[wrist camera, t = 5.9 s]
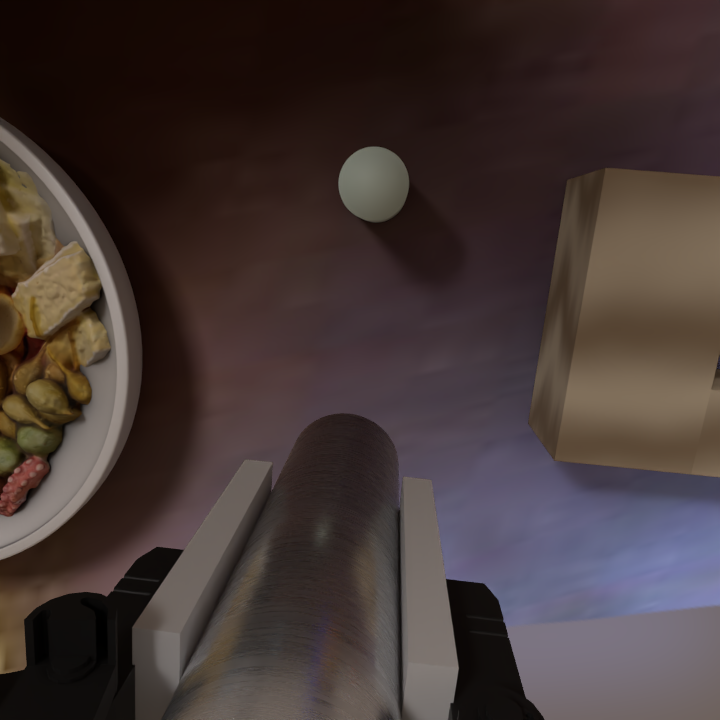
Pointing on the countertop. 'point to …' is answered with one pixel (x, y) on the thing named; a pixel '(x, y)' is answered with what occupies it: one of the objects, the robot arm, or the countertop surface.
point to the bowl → (58, 346)
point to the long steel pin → (310, 592)
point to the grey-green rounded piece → (374, 184)
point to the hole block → (634, 325)
